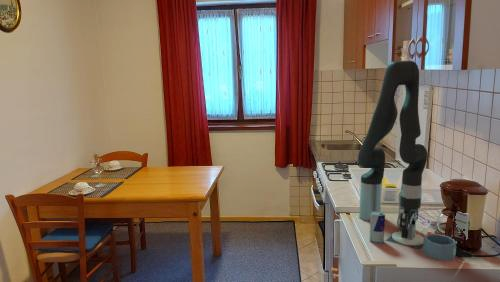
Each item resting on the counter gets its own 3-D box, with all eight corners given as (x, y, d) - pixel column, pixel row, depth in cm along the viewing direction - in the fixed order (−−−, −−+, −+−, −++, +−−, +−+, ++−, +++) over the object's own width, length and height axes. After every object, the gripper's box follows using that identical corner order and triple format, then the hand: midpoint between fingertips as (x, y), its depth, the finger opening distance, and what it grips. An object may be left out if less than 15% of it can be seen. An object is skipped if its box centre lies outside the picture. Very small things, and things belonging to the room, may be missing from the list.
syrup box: (465, 251, 143) (469, 213, 141) (451, 245, 148) (454, 209, 146) (475, 247, 145) (478, 211, 143) (460, 242, 151) (463, 206, 148)
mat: (397, 231, 161) (397, 230, 161) (430, 239, 153) (430, 238, 153) (385, 241, 152) (385, 240, 152) (419, 250, 143) (419, 249, 143)
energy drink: (384, 245, 147) (386, 216, 146) (370, 244, 149) (371, 215, 147) (382, 240, 153) (384, 211, 151) (368, 239, 154) (370, 210, 152)
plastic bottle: (413, 233, 160) (416, 186, 157) (396, 231, 162) (399, 185, 159) (412, 227, 166) (415, 182, 163) (395, 225, 168) (398, 181, 165)
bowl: (428, 246, 146) (429, 232, 146) (457, 254, 140) (458, 239, 139) (420, 255, 139) (421, 240, 138) (450, 264, 132) (451, 248, 132)
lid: (398, 231, 161) (399, 217, 160) (428, 238, 153) (429, 224, 152) (387, 240, 152) (388, 225, 151) (418, 248, 144) (419, 233, 143)
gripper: (407, 189, 157) (404, 226, 160) (394, 197, 146) (392, 237, 149) (426, 192, 152) (423, 231, 155) (414, 201, 142) (412, 242, 144)
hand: (408, 234), depth 152 cm, fingers open, 8 cm apart
